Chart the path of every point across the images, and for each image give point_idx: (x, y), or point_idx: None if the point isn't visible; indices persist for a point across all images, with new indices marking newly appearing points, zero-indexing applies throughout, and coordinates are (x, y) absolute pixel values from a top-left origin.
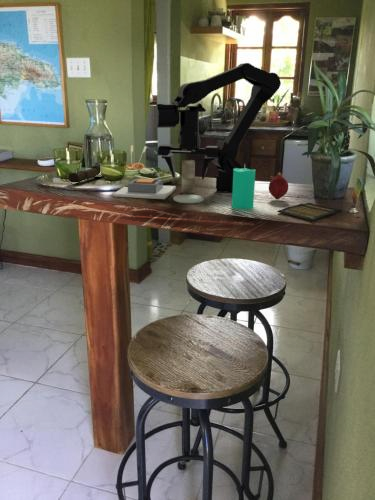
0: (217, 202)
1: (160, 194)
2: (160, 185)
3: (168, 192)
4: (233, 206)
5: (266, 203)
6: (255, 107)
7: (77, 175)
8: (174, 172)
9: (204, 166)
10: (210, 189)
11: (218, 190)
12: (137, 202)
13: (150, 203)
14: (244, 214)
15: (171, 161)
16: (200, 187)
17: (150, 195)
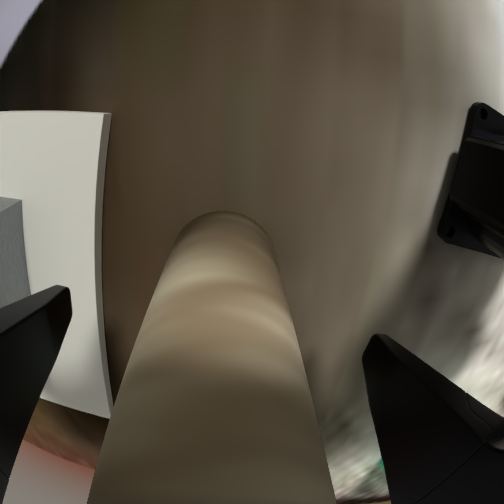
0: (357, 431)
1: (74, 385)
2: (12, 289)
3: (96, 347)
4: (383, 466)
5: (498, 395)
6: None
7: None
8: (45, 348)
9: (402, 493)
10: (415, 136)
11: (450, 239)
12: (42, 427)
13: (87, 444)
14: (380, 487)
15: (2, 494)
16: (343, 47)
17: (43, 394)
